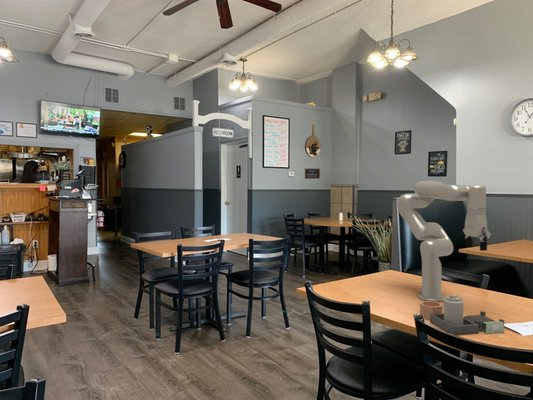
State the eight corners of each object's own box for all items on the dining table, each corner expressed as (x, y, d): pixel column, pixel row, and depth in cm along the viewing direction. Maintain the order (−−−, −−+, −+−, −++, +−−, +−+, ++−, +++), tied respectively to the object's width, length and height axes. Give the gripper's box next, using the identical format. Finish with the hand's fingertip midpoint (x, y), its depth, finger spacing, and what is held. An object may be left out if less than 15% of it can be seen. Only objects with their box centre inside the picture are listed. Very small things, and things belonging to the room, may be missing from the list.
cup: (416, 314, 183) (416, 301, 183) (434, 313, 184) (434, 300, 184) (427, 320, 174) (427, 307, 174) (446, 319, 176) (446, 306, 175)
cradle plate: (463, 320, 171) (463, 315, 171) (482, 319, 173) (482, 314, 173) (478, 327, 162) (478, 322, 162) (497, 326, 164) (497, 321, 164)
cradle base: (457, 321, 173) (457, 312, 173) (483, 320, 175) (483, 311, 175) (481, 334, 158) (481, 324, 158) (509, 332, 160) (509, 322, 160)
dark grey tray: (430, 322, 172) (430, 314, 172) (454, 320, 174) (454, 312, 174) (452, 335, 157) (452, 326, 157) (478, 333, 159) (478, 324, 159)
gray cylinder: (457, 321, 170) (458, 294, 169) (466, 328, 162) (467, 299, 162) (440, 322, 170) (440, 294, 169) (448, 328, 162) (449, 299, 162)
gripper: (457, 211, 190) (456, 246, 191) (482, 213, 173) (481, 252, 174) (471, 210, 191) (470, 245, 192) (497, 213, 174) (496, 251, 175)
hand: (476, 248), depth 183 cm, fingers open, 9 cm apart
